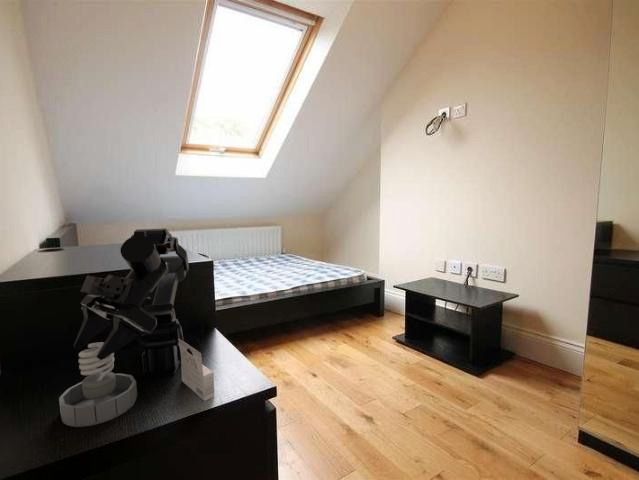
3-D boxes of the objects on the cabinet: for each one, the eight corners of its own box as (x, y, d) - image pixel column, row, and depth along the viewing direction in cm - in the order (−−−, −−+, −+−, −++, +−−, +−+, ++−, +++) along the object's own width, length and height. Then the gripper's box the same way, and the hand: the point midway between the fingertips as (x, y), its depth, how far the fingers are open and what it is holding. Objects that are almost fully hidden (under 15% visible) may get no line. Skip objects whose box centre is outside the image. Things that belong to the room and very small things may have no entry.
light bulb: (122, 403, 67) (117, 342, 66) (88, 417, 63) (82, 352, 61) (112, 392, 71) (107, 335, 69) (79, 405, 67) (73, 344, 65)
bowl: (144, 386, 74) (142, 370, 73) (124, 421, 62) (122, 402, 62) (80, 393, 72) (78, 377, 71) (47, 431, 60) (45, 412, 59)
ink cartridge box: (192, 377, 78) (189, 334, 76) (215, 397, 69) (213, 349, 68) (180, 381, 76) (177, 337, 75) (203, 402, 68) (200, 353, 67)
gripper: (87, 255, 72) (26, 323, 64) (136, 261, 62) (70, 344, 54) (128, 285, 80) (78, 349, 72) (178, 295, 69) (126, 372, 61)
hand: (86, 353), depth 64 cm, fingers open, 9 cm apart
